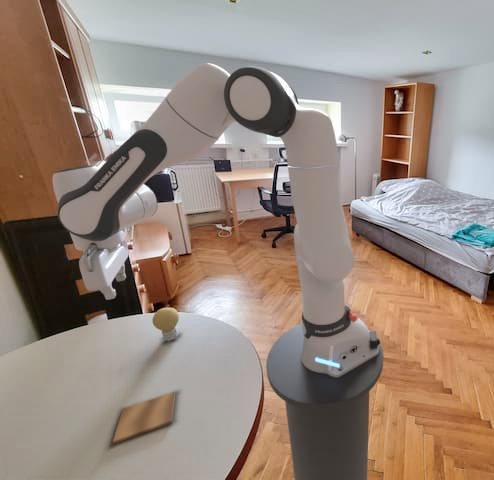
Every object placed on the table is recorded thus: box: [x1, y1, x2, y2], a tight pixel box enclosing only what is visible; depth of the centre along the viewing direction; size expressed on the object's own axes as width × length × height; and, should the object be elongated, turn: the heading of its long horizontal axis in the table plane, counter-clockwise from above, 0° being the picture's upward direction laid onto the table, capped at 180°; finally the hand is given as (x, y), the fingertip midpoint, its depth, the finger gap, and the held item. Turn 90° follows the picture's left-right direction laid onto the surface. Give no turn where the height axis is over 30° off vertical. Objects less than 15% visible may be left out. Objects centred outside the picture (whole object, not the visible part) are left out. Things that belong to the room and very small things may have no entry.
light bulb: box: [151, 307, 180, 342], centre depth 84 cm, size 6×6×10 cm
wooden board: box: [112, 391, 176, 444], centre depth 62 cm, size 10×8×1 cm
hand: (117, 288), depth 72 cm, fingers open, 8 cm apart
